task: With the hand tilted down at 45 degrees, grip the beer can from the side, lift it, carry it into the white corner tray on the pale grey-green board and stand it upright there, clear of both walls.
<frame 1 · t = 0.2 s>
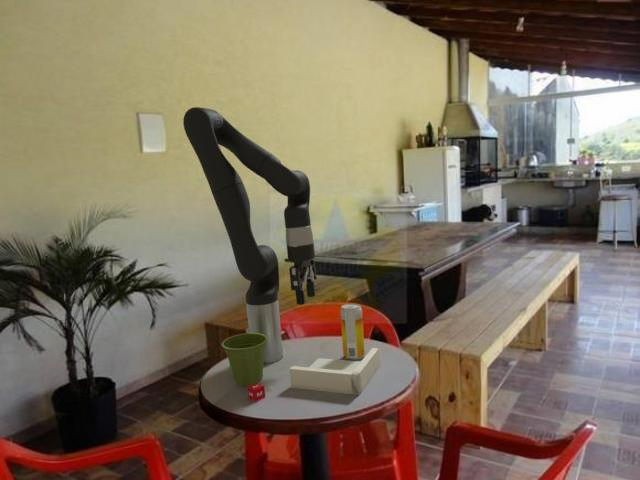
hand: (306, 300, 140), 18 cm above the table, tool pointing down, fingers open, 8 cm apart
white corner tray: (337, 376, 131), on the table
dice: (256, 398, 123), on the table
plant pot: (248, 382, 133), on the table
beer can: (354, 357, 144), on the table
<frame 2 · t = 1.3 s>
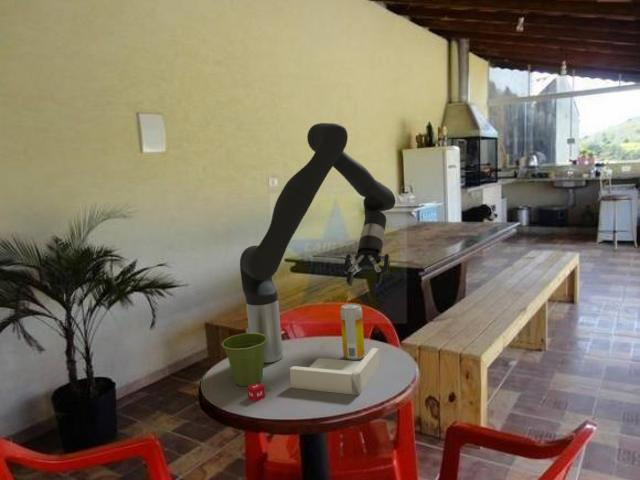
hand: (362, 284, 152), 18 cm above the table, tool tilted 45°, fingers open, 8 cm apart
nothing on the table moved.
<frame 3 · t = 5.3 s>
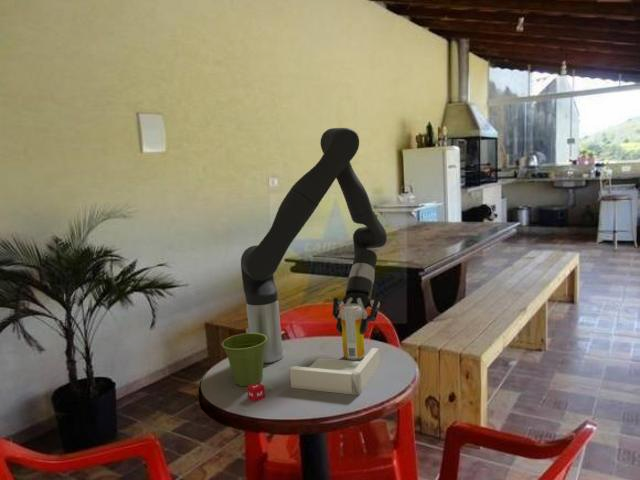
hand: (350, 332, 141), 8 cm above the table, tool tilted 45°, fingers closed on beer can, 6 cm apart
beer can: (354, 357, 144), on the table, touching gripper
everything else where it was.
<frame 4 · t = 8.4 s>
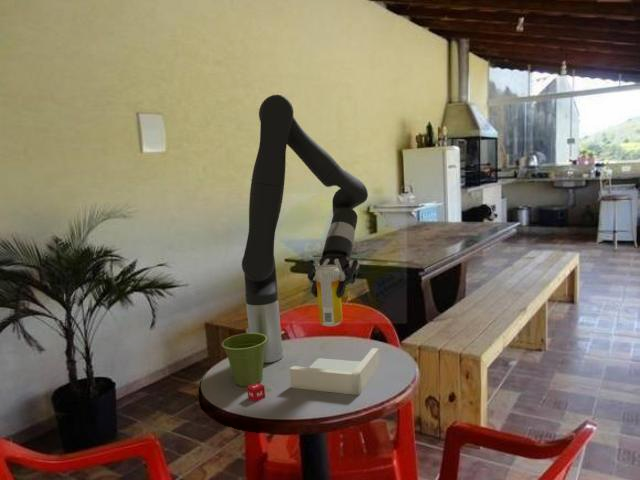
hand: (326, 295, 128), 22 cm above the table, tool tilted 45°, fingers closed on beer can, 6 cm apart
beer can: (331, 323, 131), point 14 cm above the table, touching gripper
everything else where it was.
when the fingers open (10 cm above the table, at t = 11.4 s): beer can drops 2 cm, resting on white corner tray.
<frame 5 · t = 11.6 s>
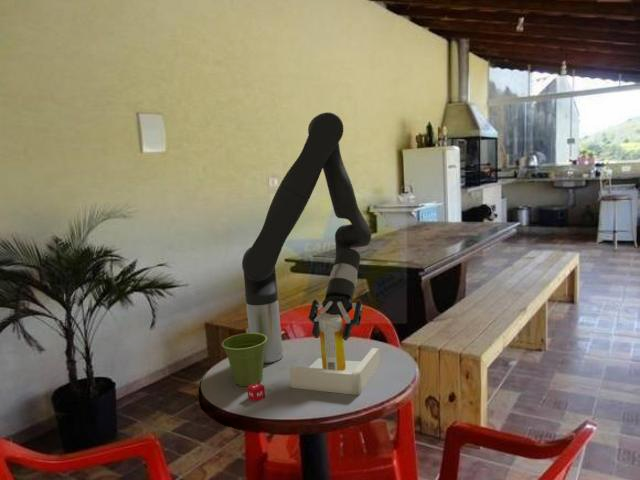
hand: (330, 338, 130), 11 cm above the table, tool tilted 45°, fingers open, 7 cm apart
beer can: (334, 371, 133), point 1 cm above the table, touching white corner tray
everything else where it was.
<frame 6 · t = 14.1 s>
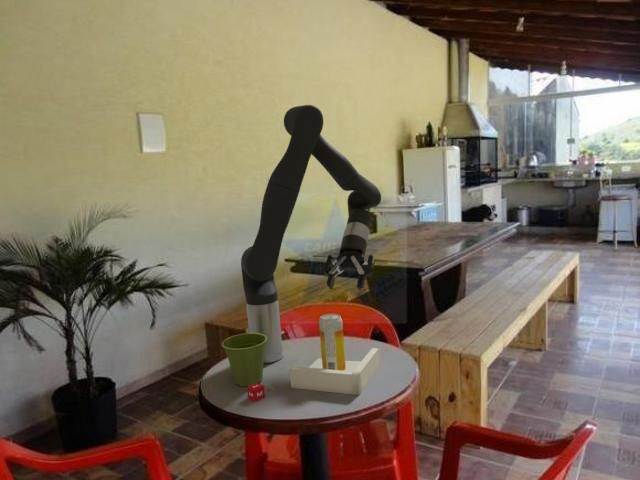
hand: (344, 288, 140), 21 cm above the table, tool tilted 45°, fingers open, 8 cm apart
nothing on the table moved.
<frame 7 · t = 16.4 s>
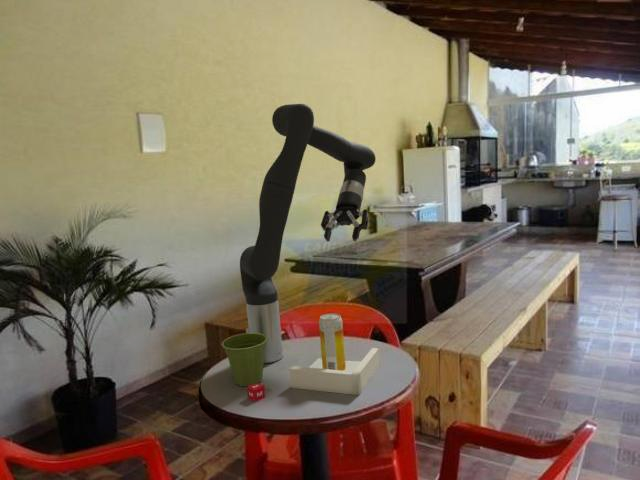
hand: (340, 239, 149), 33 cm above the table, tool tilted 45°, fingers open, 8 cm apart
nothing on the table moved.
at the end: beer can inside the target area on the white corner tray (0.4 cm from its centre), point 0.6 cm above the white corner tray's base; beer can tilted 0°; the gripper is holding nothing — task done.
